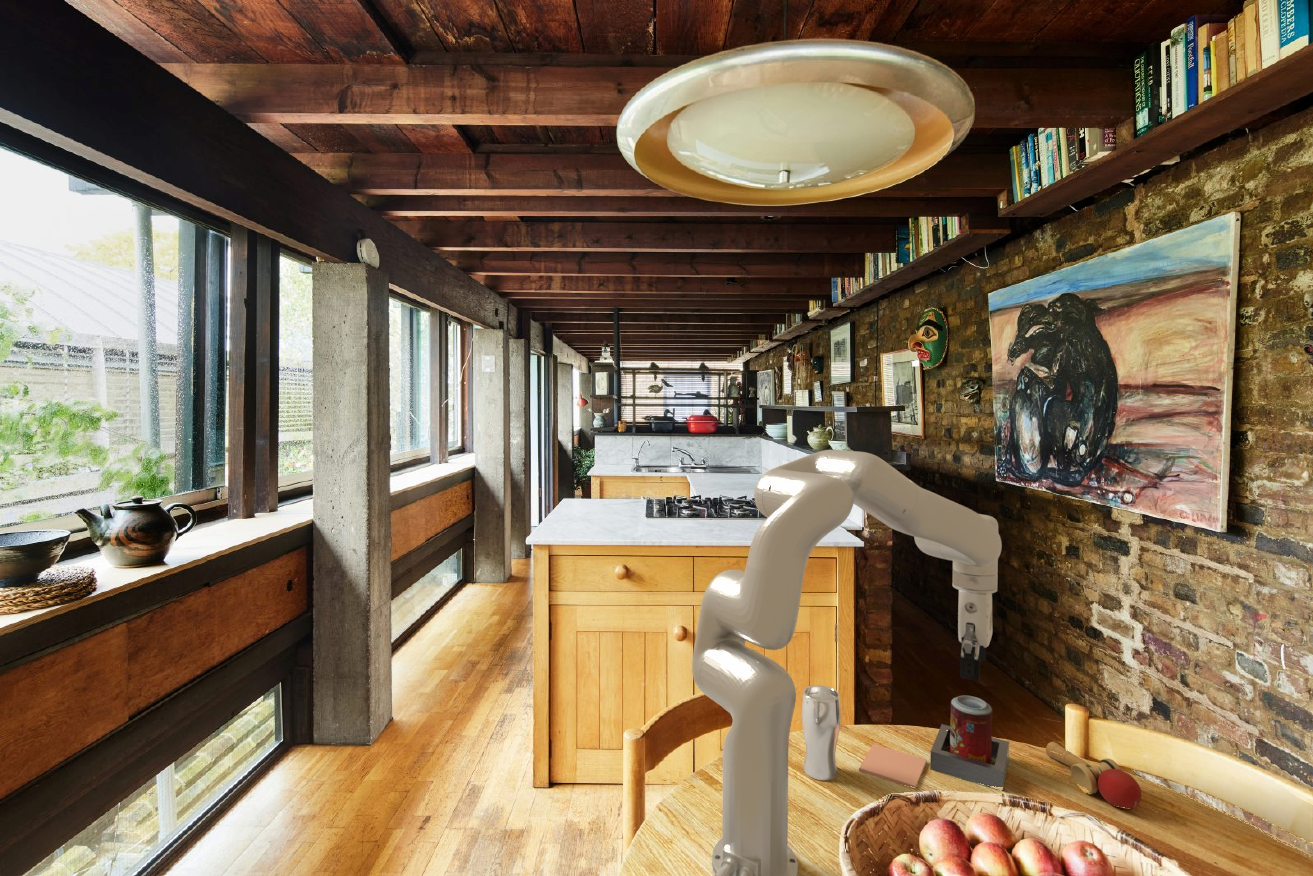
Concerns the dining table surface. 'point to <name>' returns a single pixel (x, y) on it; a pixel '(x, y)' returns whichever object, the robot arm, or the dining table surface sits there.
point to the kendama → (1100, 777)
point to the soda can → (971, 728)
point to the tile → (893, 765)
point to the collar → (970, 761)
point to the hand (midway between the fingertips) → (973, 669)
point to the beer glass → (821, 730)
